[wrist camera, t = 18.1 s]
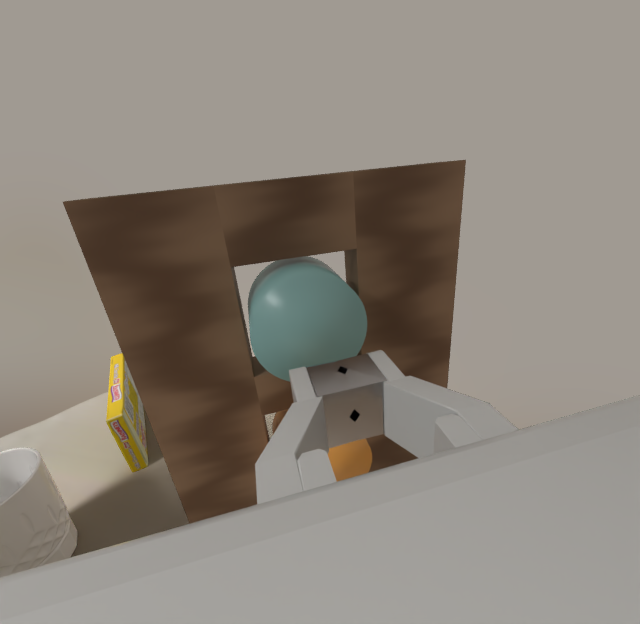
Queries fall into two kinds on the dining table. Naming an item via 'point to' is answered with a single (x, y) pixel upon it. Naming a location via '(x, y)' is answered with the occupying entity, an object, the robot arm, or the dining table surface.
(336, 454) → the orange button
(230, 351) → the button panel
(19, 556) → the white cup
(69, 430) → the dining table surface
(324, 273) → the teal button
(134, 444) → the candy box
